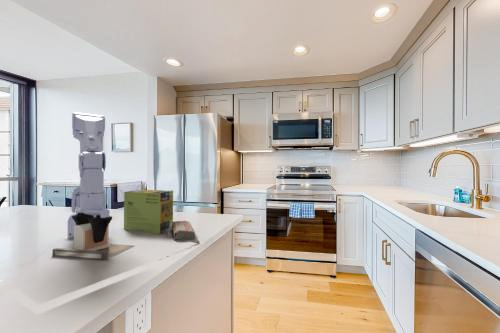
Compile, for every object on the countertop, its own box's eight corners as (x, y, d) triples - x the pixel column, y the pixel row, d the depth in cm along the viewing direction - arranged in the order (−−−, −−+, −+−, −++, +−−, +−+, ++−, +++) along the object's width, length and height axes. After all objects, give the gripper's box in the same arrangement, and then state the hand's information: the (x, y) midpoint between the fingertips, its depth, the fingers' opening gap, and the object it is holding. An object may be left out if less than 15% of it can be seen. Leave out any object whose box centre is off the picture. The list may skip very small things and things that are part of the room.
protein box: (160, 234, 92) (160, 192, 92) (123, 232, 94) (123, 191, 94) (173, 227, 102) (174, 190, 102) (139, 226, 105) (140, 189, 105)
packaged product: (167, 220, 95) (193, 219, 99) (166, 233, 95) (193, 231, 99) (167, 232, 78) (199, 230, 82) (167, 247, 78) (199, 244, 82)
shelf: (51, 260, 66) (51, 249, 66) (89, 246, 78) (89, 236, 78) (104, 265, 63) (104, 253, 63) (135, 249, 75) (135, 239, 75)
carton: (73, 250, 70) (74, 225, 70) (99, 244, 76) (99, 221, 76) (83, 254, 68) (83, 228, 68) (108, 246, 74) (109, 223, 74)
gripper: (64, 192, 72) (63, 239, 72) (90, 195, 65) (90, 247, 65) (89, 190, 78) (89, 233, 78) (116, 193, 71) (116, 241, 71)
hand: (91, 239), depth 72 cm, fingers open, 7 cm apart
